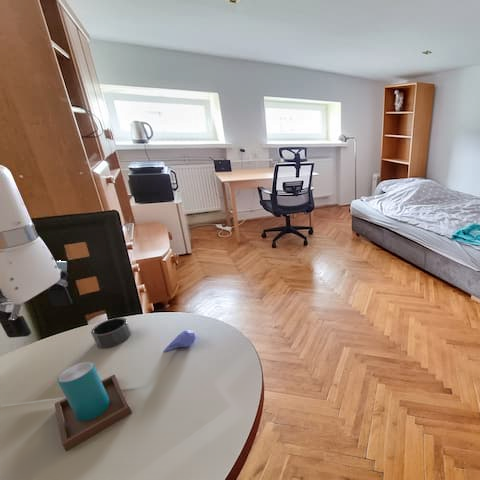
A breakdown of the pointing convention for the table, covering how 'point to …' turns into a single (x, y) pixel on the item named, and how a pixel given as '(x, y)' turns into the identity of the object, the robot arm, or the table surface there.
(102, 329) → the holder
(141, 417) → the table surface
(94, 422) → the tray
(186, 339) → the blue teardrop shape
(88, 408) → the can
